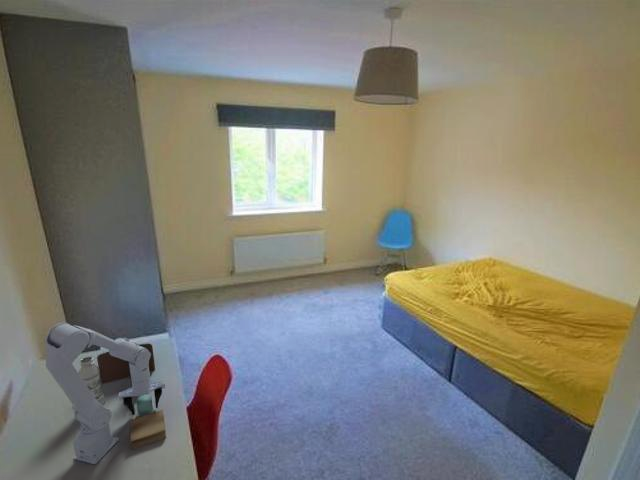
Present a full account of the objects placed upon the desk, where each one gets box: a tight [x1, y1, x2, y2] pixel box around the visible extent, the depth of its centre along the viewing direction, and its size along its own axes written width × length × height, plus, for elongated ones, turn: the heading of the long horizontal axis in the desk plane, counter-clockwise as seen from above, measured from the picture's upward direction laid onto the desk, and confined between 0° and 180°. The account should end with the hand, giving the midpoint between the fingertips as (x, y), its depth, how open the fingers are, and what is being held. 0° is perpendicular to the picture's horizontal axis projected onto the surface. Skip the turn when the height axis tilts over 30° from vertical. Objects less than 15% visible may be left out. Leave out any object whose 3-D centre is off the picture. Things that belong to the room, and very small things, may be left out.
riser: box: [130, 409, 167, 450], centre depth 114 cm, size 10×10×3 cm
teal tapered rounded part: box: [136, 393, 154, 417], centre depth 122 cm, size 5×5×6 cm
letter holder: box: [96, 343, 156, 385], centre depth 143 cm, size 10×20×14 cm, turn 118°
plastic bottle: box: [77, 356, 106, 407], centre depth 122 cm, size 6×7×20 cm
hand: (145, 409), depth 122 cm, fingers open, 7 cm apart
